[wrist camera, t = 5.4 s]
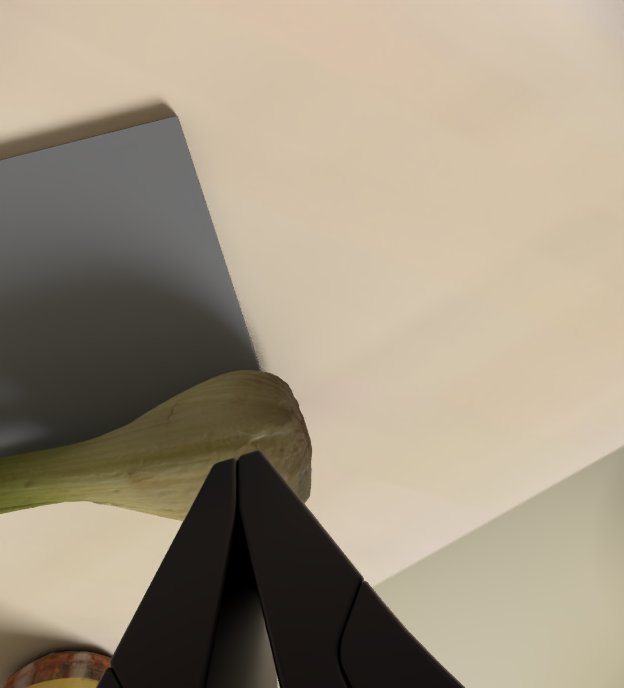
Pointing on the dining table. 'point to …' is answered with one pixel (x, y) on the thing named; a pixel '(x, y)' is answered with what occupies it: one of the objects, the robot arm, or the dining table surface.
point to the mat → (108, 287)
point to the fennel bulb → (169, 450)
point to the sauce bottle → (61, 671)
